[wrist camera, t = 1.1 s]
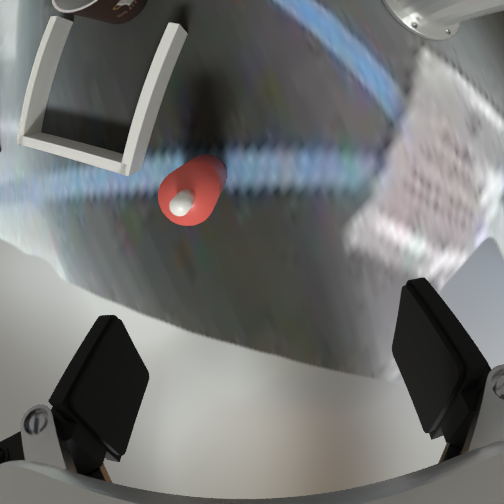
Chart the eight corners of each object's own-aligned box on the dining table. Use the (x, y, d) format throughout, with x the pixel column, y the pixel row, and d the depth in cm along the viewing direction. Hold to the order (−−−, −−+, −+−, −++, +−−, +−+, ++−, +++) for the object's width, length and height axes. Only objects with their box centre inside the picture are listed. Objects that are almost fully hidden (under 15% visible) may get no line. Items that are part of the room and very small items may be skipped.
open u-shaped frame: (67, 21, 23) (50, 16, 20) (187, 33, 26) (179, 24, 22) (34, 139, 30) (16, 143, 27) (141, 169, 33) (128, 176, 29)
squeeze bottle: (191, 148, 32) (157, 166, 21) (232, 162, 33) (219, 186, 21) (179, 188, 34) (143, 225, 23) (218, 201, 35) (200, 244, 23)
